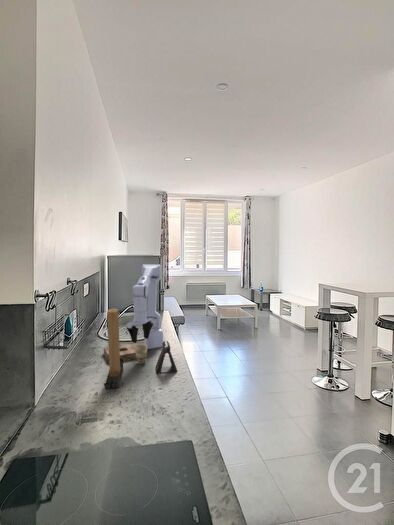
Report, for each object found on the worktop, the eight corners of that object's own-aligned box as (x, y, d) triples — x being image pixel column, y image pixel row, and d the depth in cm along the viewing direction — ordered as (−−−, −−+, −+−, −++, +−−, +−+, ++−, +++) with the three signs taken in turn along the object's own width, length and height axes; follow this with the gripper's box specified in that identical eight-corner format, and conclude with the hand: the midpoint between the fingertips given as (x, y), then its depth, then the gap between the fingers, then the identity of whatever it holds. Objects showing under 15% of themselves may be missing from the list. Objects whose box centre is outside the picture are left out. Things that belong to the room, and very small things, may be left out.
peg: (145, 359, 142) (144, 343, 142) (148, 363, 138) (148, 346, 137) (134, 361, 140) (134, 344, 140) (137, 365, 135) (137, 348, 135)
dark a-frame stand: (175, 366, 134) (175, 340, 134) (177, 372, 129) (177, 344, 128) (155, 368, 133) (155, 341, 132) (156, 373, 127) (156, 345, 126)
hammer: (118, 396, 112) (115, 321, 105) (104, 397, 111) (100, 322, 104) (124, 366, 131) (122, 301, 124) (112, 366, 130) (110, 301, 123)
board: (135, 348, 158) (135, 343, 158) (143, 357, 146) (143, 351, 145) (103, 353, 150) (103, 347, 150) (109, 363, 138) (109, 356, 138)
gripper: (145, 307, 146) (145, 335, 147) (122, 312, 134) (122, 342, 135) (155, 309, 142) (155, 337, 143) (133, 314, 130) (133, 345, 131)
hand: (140, 340), depth 139 cm, fingers open, 7 cm apart
